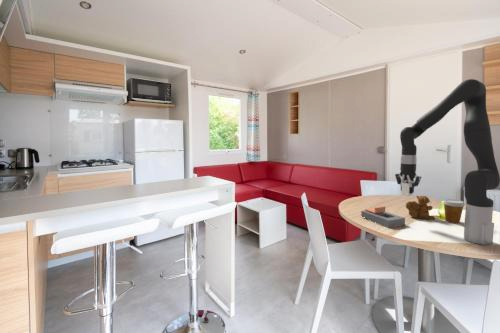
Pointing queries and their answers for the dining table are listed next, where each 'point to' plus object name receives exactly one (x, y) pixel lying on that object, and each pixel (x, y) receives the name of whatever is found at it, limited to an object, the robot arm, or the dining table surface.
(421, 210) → the stuffed squirrel
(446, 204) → the disposable coffee cup
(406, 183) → the plug
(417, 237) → the dining table surface
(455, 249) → the dining table surface
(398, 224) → the socket block
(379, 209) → the shutter
